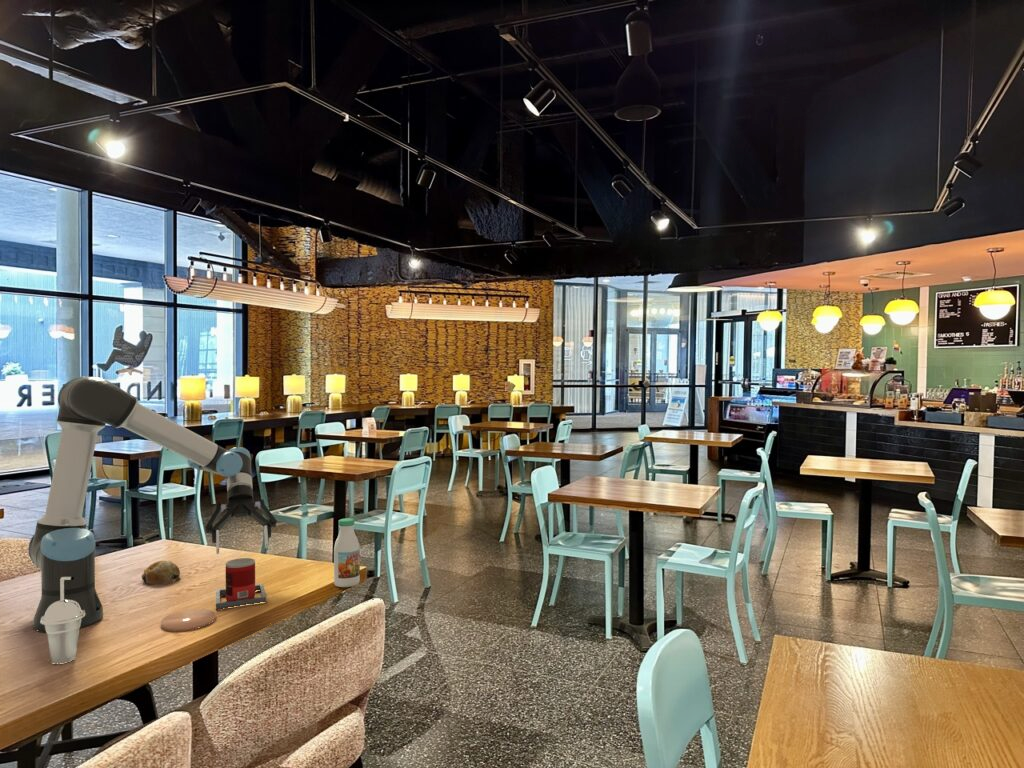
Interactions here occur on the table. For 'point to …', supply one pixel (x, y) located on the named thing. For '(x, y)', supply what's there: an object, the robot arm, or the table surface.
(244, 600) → the square metal frame
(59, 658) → the cup with straw
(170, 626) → the terracotta plate
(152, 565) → the bread roll
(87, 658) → the table surface
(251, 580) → the canned food
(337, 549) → the milk bottle
